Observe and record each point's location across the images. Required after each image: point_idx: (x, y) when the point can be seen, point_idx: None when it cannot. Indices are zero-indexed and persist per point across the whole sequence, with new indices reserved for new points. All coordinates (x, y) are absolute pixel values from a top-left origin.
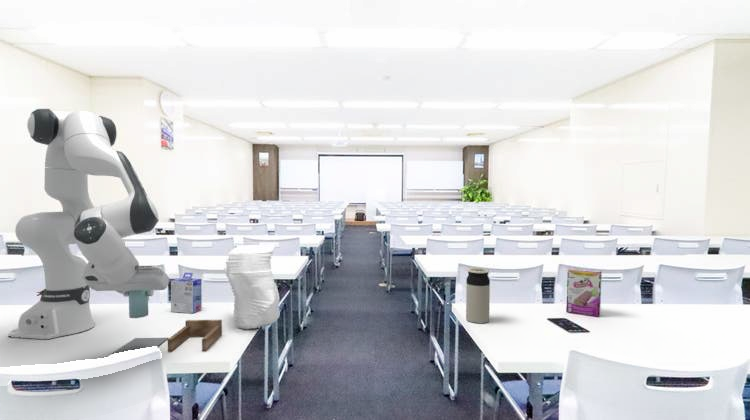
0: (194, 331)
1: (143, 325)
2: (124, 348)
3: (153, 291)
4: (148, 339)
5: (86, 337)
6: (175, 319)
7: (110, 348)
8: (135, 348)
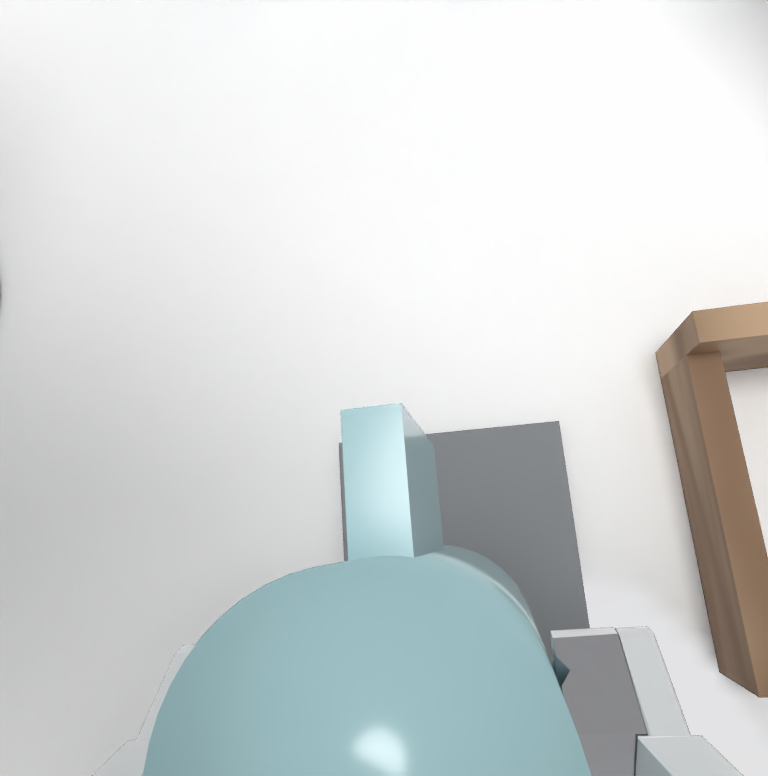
0: (743, 359)
1: (250, 212)
2: None
3: (651, 636)
4: (441, 464)
5: (46, 430)
6: (383, 89)
7: None
8: None
